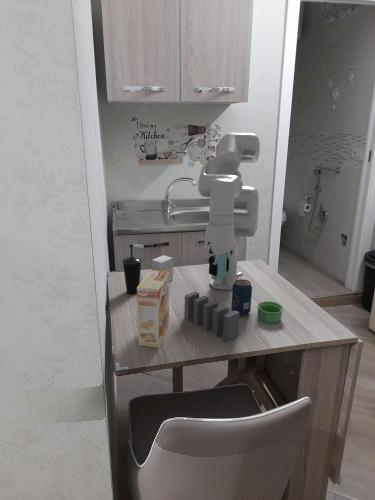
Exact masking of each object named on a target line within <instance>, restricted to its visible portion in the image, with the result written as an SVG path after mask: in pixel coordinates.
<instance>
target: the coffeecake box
mask: <svg viewBox="0 0 375 500" xmlns="http://www.w3.org/2000/svg"><path fill="white" fill-rule="evenodd" d="M140 281H141V282H140V283H139V285H138V287H137V294H136V305H137V310H136V311H137V343H138V344H137V346H139V347H149V348H156V349H157V348H158V349H160V347H161V344H162V343H163V340H164V337H165V335H166V332H167V331H168V328H169V324H170V281H169V272H167V271H155V270H152V269H149V270H148V271H147V273H146V274H145V276H144V277H143V278H142V280H140Z"/></svg>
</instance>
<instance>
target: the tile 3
mask: <svg viewBox="0 0 375 500" xmlns="http://www.w3.org/2000/svg"><path fill="white" fill-rule="evenodd" d="M206 303H209V297H208V296H206V295H202V296H201V297H200V296H199V298H197V299H195V300H194V311H193V319H192V320H193V325H195V326H200V325H203V305H204V304H206Z"/></svg>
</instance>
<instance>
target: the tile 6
mask: <svg viewBox="0 0 375 500" xmlns="http://www.w3.org/2000/svg"><path fill="white" fill-rule="evenodd" d="M239 313H240V312H238V311H235V310H234V311H232V310H231V311H230V312H228V313H227V314H225V315H224V324H223V334H222V341H223V342H225V343H226V344H228V343H230V342H232V341H234V340H237V339H238V338H239V328H240V327H239V325H240V316H239Z"/></svg>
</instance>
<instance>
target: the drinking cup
mask: <svg viewBox="0 0 375 500" xmlns="http://www.w3.org/2000/svg"><path fill="white" fill-rule="evenodd" d="M142 261H143V260H142V259H141V258H140V257H137V256H134V254H133V244H130V256H127V257H126V258H123V259H122V261H121V263H122V267H123V273H124V280H125V286H126V287H125V288H126V289H125V290H126V293H127V294H128V295H137V287H138V285H139V284H140V283H141V282H140V281H141V279H140V278H141V268H142V267H141V266H142Z"/></svg>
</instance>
